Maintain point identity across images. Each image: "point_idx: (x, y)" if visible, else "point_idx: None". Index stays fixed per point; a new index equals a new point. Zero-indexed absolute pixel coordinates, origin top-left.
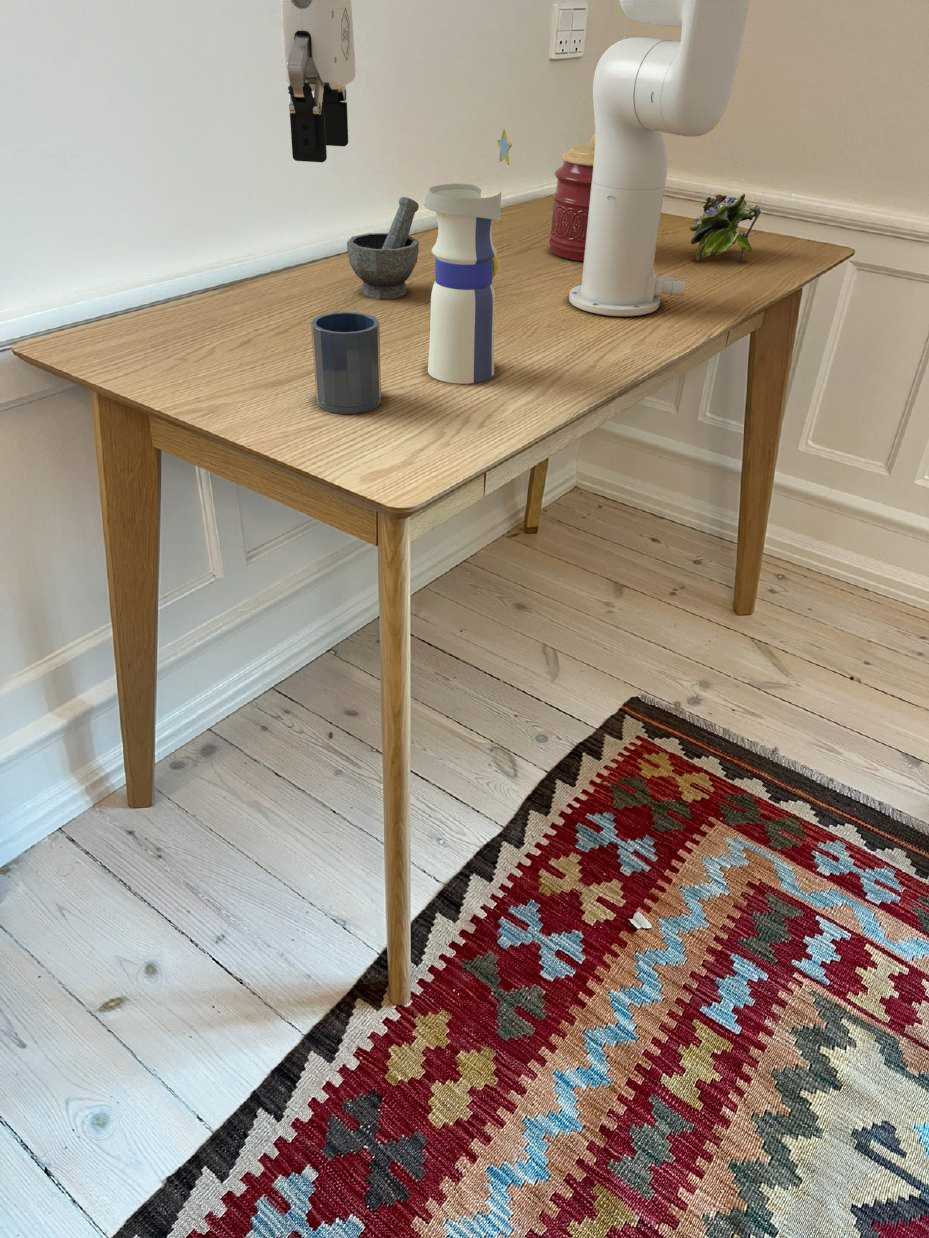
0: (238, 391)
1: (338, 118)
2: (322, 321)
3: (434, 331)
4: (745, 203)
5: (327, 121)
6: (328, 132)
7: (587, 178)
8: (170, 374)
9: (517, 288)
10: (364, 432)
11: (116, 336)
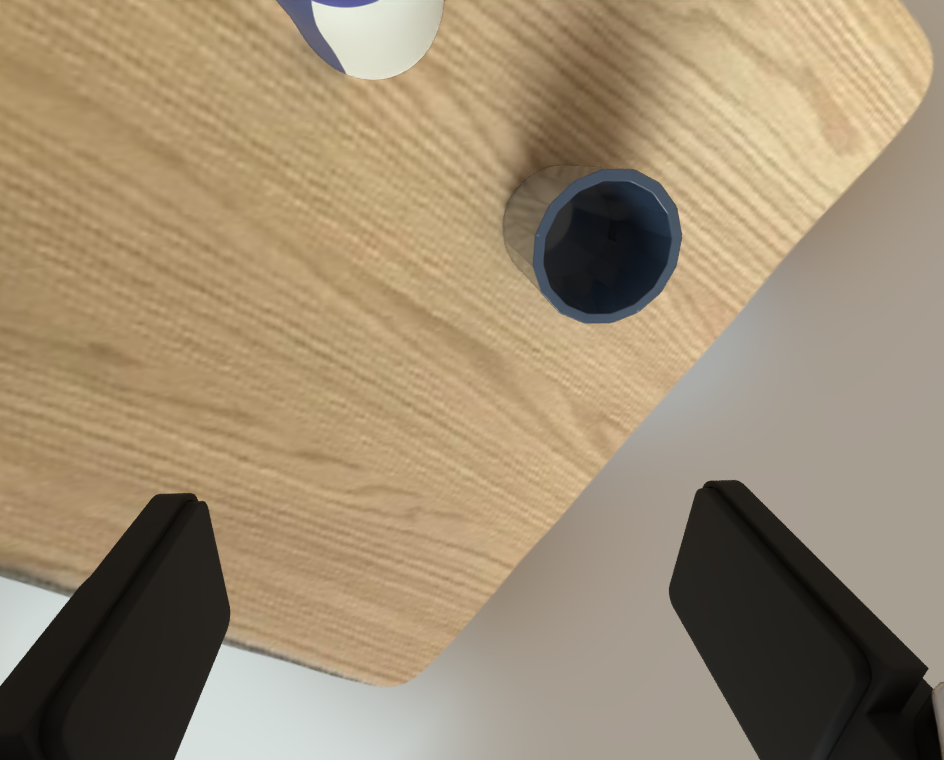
0: (526, 407)
1: (133, 654)
2: (572, 305)
3: (409, 38)
4: None
5: (169, 687)
6: (196, 625)
7: None
8: (472, 509)
9: None
10: (682, 176)
11: (339, 616)
